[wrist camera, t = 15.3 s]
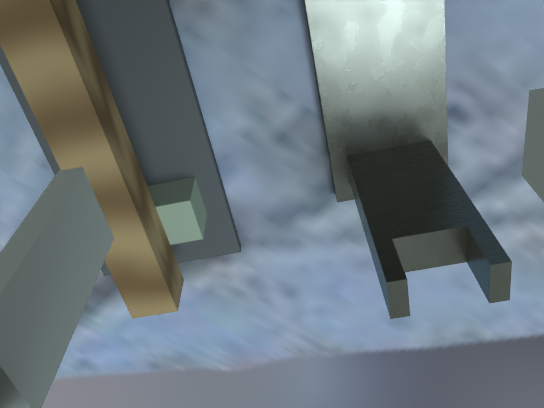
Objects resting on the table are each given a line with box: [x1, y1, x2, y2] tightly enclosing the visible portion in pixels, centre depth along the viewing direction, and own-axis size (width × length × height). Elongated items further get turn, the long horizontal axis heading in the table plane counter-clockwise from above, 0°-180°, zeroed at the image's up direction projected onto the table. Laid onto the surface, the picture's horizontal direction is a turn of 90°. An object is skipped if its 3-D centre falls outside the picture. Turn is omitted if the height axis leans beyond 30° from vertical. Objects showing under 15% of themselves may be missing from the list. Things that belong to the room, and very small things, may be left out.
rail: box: [0, 0, 184, 319], centre depth 35 cm, size 36×4×4 cm, turn 11°
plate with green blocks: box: [0, 0, 241, 276], centre depth 39 cm, size 38×14×5 cm, turn 11°
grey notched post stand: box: [304, 0, 512, 319], centre depth 32 cm, size 30×10×18 cm, turn 11°
